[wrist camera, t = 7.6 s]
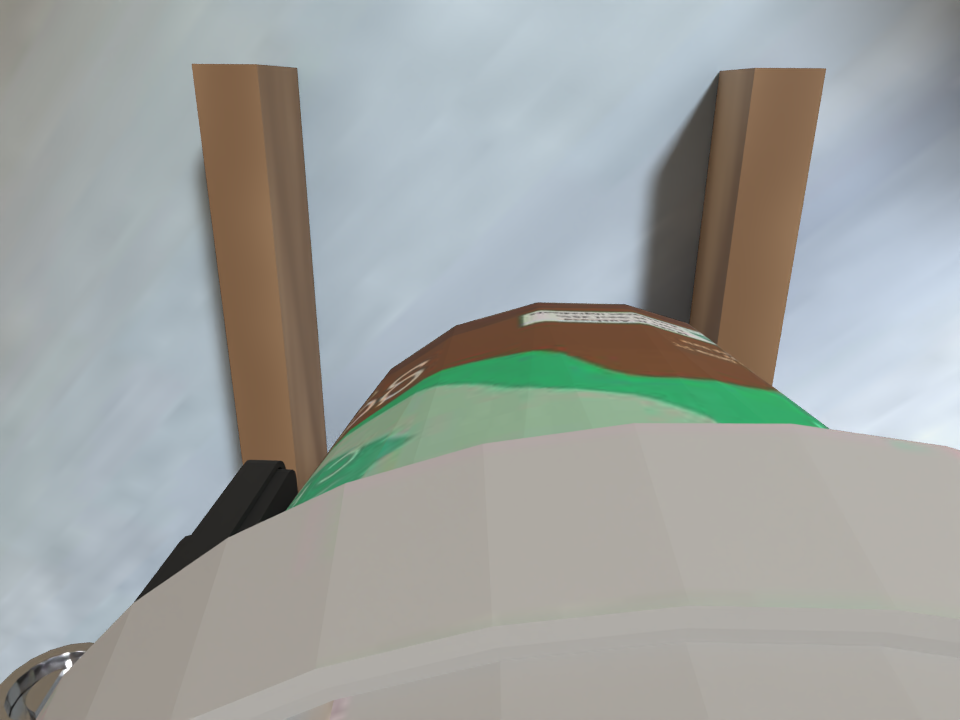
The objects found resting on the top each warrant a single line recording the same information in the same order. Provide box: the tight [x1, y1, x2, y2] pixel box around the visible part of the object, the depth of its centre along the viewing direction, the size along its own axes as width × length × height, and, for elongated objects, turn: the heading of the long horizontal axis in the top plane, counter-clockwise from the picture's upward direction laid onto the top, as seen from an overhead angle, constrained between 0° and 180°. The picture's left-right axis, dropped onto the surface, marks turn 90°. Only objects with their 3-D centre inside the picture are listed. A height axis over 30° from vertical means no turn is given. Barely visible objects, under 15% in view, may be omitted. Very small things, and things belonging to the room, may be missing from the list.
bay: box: [192, 64, 826, 493], centre depth 20 cm, size 14×16×3 cm
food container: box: [36, 303, 960, 720], centre depth 9 cm, size 12×6×10 cm, turn 159°
